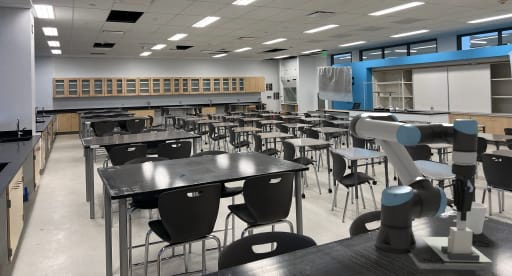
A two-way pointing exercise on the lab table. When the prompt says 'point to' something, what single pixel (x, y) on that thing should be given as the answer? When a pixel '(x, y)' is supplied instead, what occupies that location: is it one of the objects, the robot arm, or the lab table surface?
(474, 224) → the foam cup
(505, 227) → the lab table surface
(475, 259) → the board
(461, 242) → the plug
